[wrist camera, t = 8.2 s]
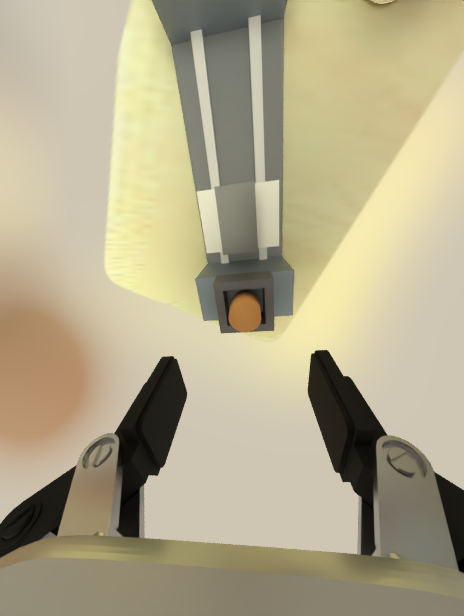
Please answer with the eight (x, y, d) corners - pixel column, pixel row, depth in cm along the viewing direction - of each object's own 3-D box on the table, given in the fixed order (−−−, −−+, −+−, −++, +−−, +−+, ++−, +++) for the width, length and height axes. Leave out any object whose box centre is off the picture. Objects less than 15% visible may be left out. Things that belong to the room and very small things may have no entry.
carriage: (202, 194, 21) (180, 183, 14) (274, 184, 20) (290, 167, 13) (211, 249, 24) (196, 263, 17) (275, 242, 23) (288, 254, 16)
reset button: (229, 291, 18) (226, 304, 15) (258, 289, 18) (260, 302, 15) (232, 316, 19) (230, 333, 17) (259, 315, 19) (262, 331, 16)
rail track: (165, -22, 17) (33, -407, 6) (280, -54, 15) (345, -584, 5) (215, 293, 30) (199, 334, 19) (279, 288, 29) (298, 329, 18)
